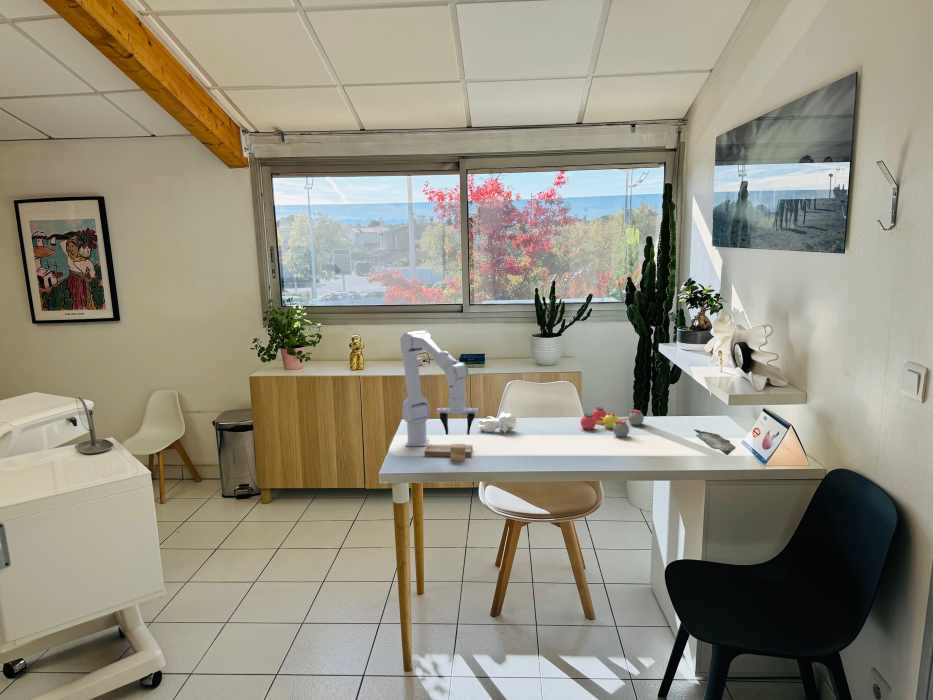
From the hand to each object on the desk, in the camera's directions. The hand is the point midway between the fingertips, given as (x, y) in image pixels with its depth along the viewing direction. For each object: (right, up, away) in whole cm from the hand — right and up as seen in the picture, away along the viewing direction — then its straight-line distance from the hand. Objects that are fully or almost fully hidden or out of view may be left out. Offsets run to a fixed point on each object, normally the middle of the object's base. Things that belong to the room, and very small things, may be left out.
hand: (457, 433), depth 233 cm
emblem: (+99, -5, +17) cm, 100 cm away
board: (-3, -8, +8) cm, 12 cm away
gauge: (0, -9, +3) cm, 9 cm away
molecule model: (+63, -3, +37) cm, 73 cm away
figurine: (+16, -4, +35) cm, 38 cm away
